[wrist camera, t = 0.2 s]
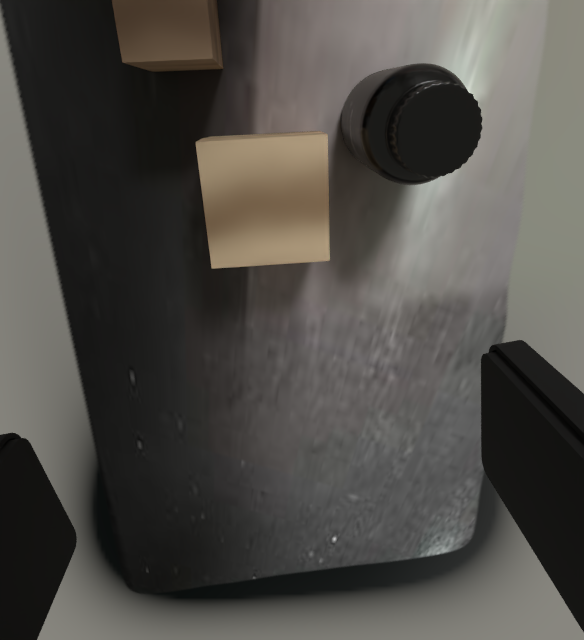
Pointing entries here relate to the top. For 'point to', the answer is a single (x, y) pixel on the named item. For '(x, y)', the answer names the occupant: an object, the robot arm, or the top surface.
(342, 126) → the supplement bottle
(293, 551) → the top surface
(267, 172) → the upper maple slab
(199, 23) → the walnut block
